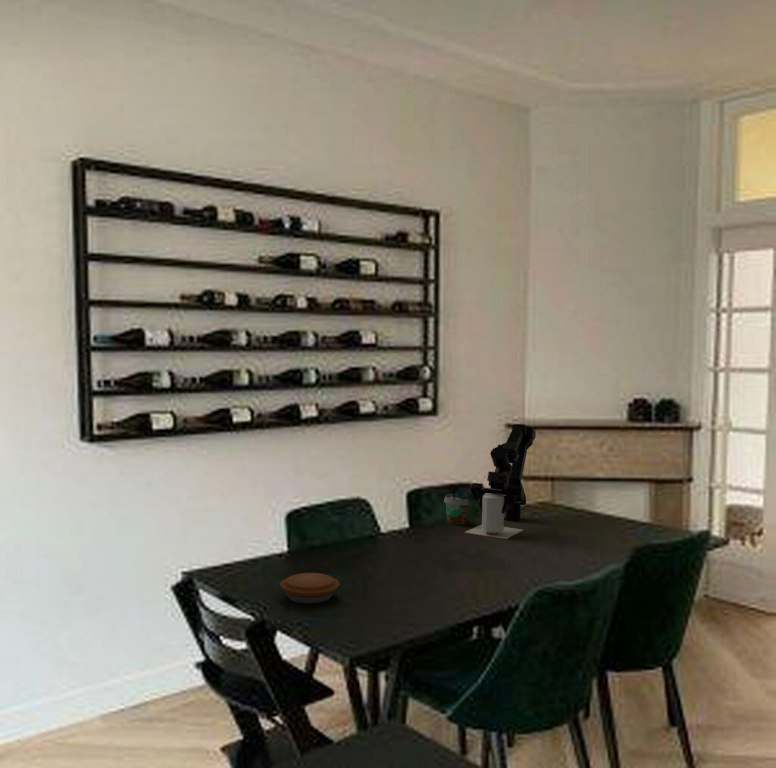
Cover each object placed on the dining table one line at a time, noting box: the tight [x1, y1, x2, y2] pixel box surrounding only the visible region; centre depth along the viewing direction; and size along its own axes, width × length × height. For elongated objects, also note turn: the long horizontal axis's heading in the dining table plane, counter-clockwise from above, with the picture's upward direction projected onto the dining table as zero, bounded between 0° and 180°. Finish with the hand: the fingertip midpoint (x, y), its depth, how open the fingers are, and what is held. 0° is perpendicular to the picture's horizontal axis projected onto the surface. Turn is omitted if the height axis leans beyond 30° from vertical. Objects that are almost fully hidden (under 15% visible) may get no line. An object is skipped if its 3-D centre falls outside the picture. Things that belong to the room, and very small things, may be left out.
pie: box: [279, 572, 341, 605], centre depth 203 cm, size 15×16×5 cm
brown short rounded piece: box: [487, 532, 498, 535], centre depth 273 cm, size 4×4×3 cm
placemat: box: [464, 523, 523, 540], centre depth 277 cm, size 16×16×1 cm
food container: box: [443, 493, 470, 526], centre depth 289 cm, size 12×6×10 cm, turn 25°
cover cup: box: [481, 493, 505, 532], centre depth 273 cm, size 7×7×12 cm
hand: (491, 511), depth 272 cm, fingers closed on cover cup, 7 cm apart
